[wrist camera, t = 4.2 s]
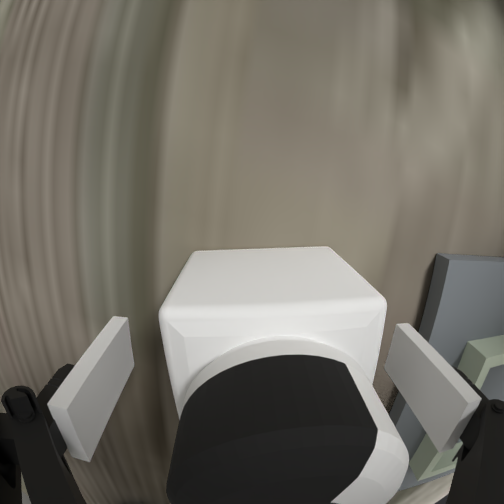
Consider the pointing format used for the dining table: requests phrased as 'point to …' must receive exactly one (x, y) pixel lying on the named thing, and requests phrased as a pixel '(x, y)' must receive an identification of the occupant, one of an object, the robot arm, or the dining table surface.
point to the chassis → (457, 349)
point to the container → (277, 381)
